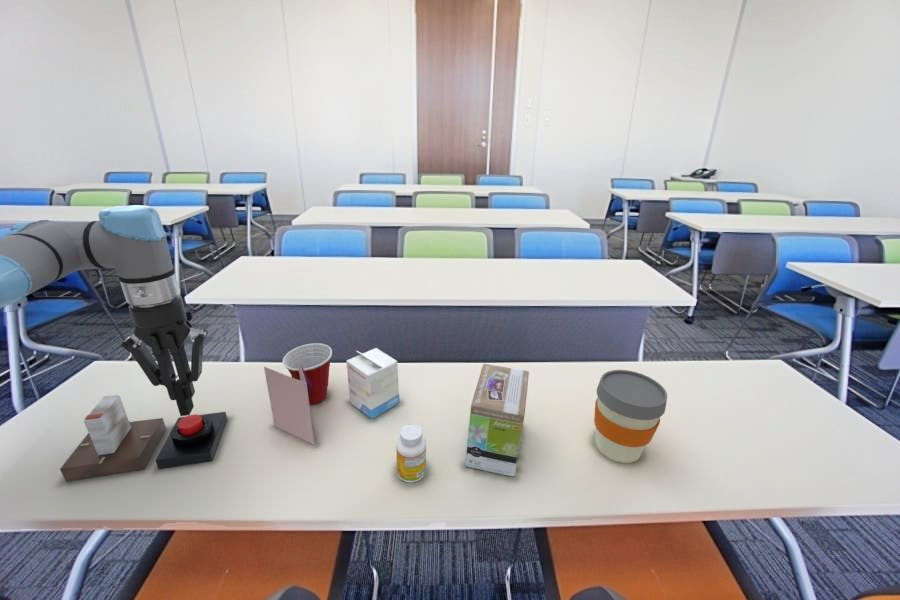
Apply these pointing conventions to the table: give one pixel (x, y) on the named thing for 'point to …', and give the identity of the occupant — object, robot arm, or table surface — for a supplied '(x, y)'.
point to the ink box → (373, 382)
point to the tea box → (497, 419)
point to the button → (190, 424)
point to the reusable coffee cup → (627, 414)
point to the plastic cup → (311, 368)
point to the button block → (193, 443)
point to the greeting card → (290, 403)
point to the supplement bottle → (411, 454)
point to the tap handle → (107, 424)
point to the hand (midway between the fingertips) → (187, 411)
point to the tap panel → (116, 453)
